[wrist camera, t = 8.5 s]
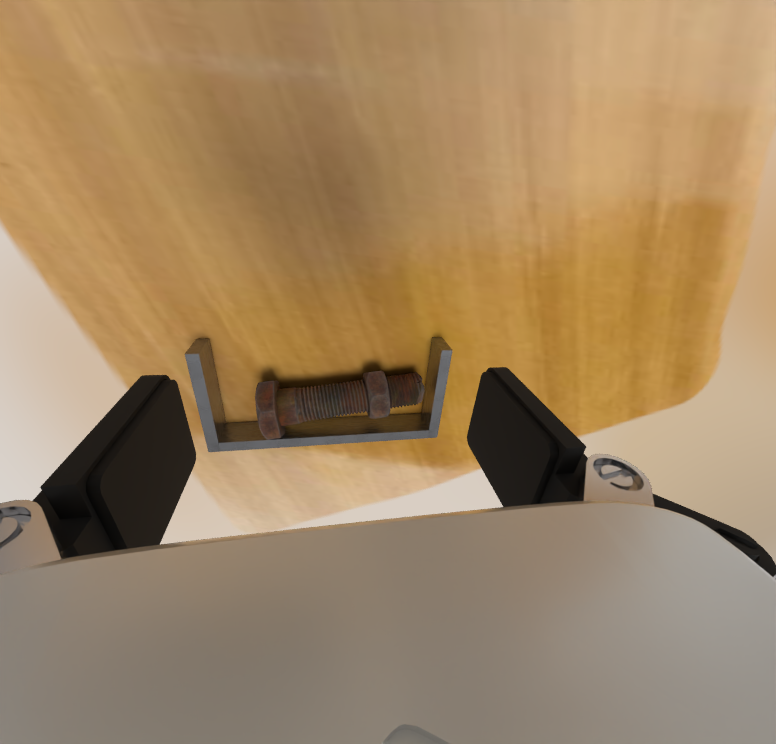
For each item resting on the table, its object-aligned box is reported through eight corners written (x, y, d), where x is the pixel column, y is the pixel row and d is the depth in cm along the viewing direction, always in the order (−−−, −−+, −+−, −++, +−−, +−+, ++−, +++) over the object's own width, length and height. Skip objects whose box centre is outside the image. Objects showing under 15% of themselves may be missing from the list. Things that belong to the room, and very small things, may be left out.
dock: (196, 338, 29) (184, 354, 26) (441, 337, 33) (452, 350, 30) (217, 431, 34) (208, 452, 31) (428, 420, 38) (437, 437, 35)
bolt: (410, 375, 37) (267, 395, 34) (417, 348, 32) (255, 368, 30) (424, 424, 34) (269, 450, 31) (433, 402, 30) (255, 429, 27)
